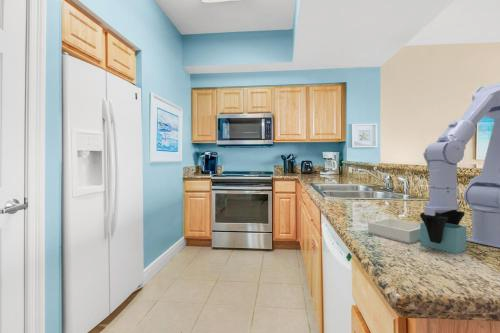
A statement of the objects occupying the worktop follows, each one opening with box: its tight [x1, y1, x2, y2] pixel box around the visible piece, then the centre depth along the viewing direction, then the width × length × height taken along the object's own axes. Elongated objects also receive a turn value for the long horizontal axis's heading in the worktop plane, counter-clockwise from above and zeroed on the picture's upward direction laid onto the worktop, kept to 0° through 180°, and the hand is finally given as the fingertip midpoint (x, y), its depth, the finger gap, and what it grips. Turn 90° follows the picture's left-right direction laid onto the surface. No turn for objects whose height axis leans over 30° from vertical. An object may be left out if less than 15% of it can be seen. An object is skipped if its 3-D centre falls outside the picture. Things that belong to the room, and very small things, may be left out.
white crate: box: [367, 217, 420, 245], centre depth 76 cm, size 11×12×4 cm
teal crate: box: [419, 221, 467, 255], centre depth 65 cm, size 6×8×6 cm
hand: (442, 240), depth 65 cm, fingers open, 7 cm apart
